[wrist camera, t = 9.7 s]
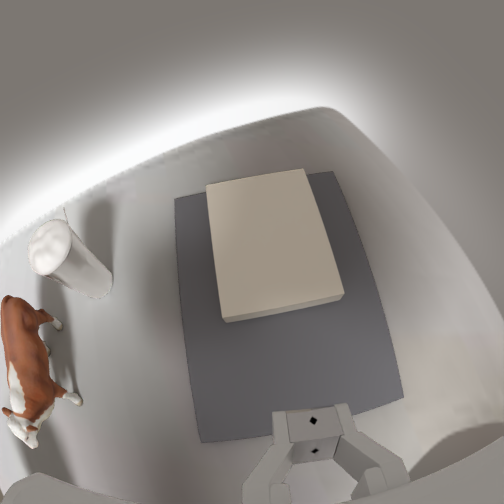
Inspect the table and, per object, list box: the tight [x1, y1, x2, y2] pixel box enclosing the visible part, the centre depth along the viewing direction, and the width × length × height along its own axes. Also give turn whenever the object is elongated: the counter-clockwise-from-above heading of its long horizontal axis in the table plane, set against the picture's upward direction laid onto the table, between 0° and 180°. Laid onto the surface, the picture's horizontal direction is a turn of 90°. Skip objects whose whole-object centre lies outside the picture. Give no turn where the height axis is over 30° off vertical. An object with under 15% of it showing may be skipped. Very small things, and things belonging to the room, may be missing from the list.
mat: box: [174, 171, 404, 443], centre depth 23 cm, size 22×16×1 cm
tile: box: [206, 168, 345, 323], centre depth 24 cm, size 2×9×12 cm
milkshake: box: [28, 209, 113, 299], centre depth 20 cm, size 4×5×10 cm
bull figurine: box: [1, 295, 83, 449], centre depth 17 cm, size 4×13×8 cm, turn 21°
